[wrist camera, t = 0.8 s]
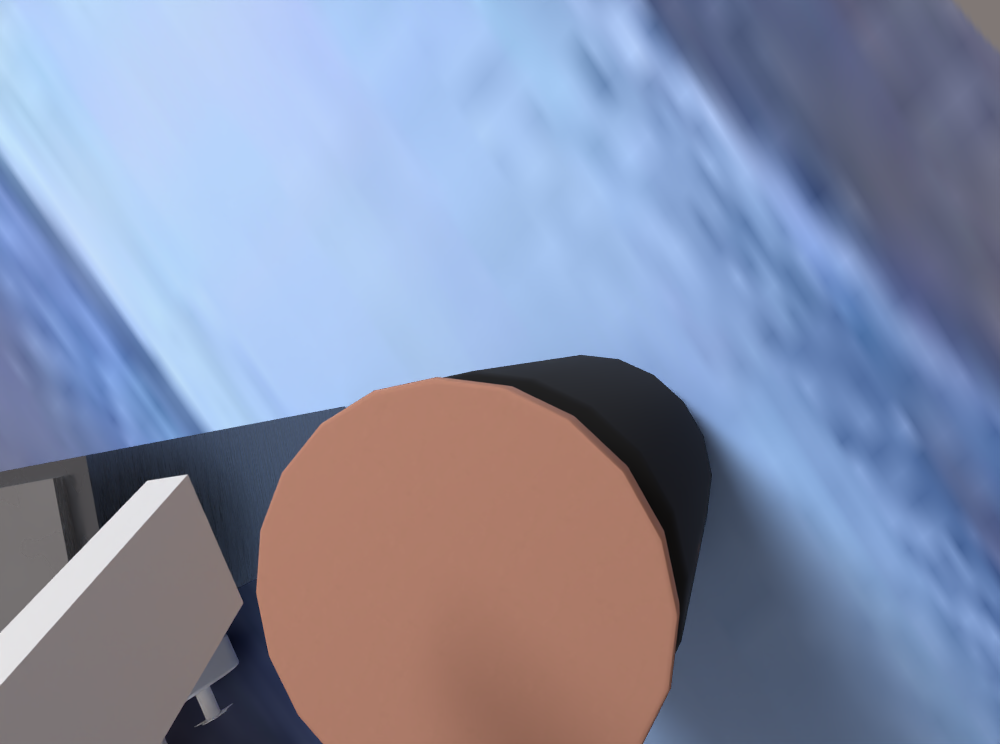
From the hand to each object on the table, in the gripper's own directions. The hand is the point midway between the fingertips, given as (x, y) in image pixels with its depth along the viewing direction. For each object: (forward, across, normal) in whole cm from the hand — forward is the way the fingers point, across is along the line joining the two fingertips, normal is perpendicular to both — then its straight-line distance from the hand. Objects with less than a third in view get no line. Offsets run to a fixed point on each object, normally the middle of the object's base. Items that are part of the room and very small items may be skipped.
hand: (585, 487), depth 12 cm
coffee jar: (+20, +1, +12) cm, 23 cm away
